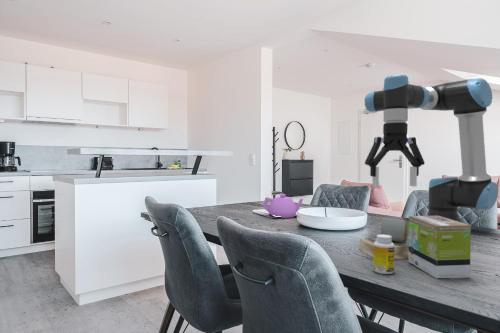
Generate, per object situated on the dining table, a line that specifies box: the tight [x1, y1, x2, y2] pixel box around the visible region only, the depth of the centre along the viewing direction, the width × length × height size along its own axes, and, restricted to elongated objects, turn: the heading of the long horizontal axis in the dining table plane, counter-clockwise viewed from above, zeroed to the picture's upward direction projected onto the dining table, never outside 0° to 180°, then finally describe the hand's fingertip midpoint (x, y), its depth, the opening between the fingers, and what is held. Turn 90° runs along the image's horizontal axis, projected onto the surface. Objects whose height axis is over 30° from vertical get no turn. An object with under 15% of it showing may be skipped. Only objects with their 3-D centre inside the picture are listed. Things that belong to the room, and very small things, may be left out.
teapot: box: [262, 193, 304, 219], centre depth 198 cm, size 22×16×12 cm
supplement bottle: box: [372, 234, 395, 275], centre depth 103 cm, size 6×6×10 cm
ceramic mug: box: [380, 216, 409, 242], centre depth 123 cm, size 11×8×8 cm
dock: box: [359, 236, 409, 260], centre depth 122 cm, size 18×12×4 cm, turn 99°
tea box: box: [408, 215, 472, 279], centre depth 104 cm, size 15×10×15 cm, turn 5°
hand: (394, 186), depth 122 cm, fingers open, 13 cm apart
